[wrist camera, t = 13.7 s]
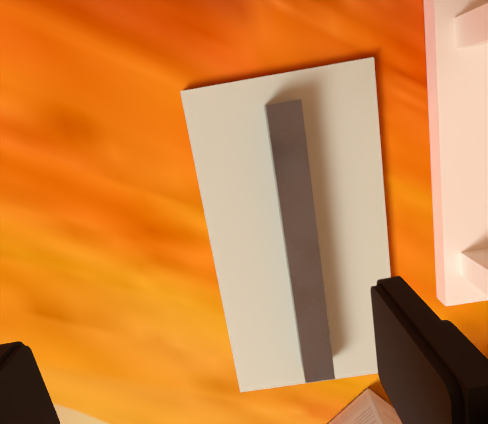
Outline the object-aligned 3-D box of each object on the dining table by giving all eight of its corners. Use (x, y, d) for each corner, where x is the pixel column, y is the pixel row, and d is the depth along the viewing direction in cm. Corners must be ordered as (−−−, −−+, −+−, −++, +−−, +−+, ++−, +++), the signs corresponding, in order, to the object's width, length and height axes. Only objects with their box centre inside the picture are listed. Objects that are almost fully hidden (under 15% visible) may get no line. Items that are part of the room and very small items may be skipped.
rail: (263, 105, 28) (265, 105, 26) (296, 100, 28) (301, 99, 25) (301, 364, 33) (305, 382, 31) (328, 360, 33) (335, 378, 31)
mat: (182, 91, 28) (180, 91, 28) (370, 58, 28) (373, 56, 27) (240, 386, 35) (240, 392, 34) (394, 364, 34) (397, 370, 33)
